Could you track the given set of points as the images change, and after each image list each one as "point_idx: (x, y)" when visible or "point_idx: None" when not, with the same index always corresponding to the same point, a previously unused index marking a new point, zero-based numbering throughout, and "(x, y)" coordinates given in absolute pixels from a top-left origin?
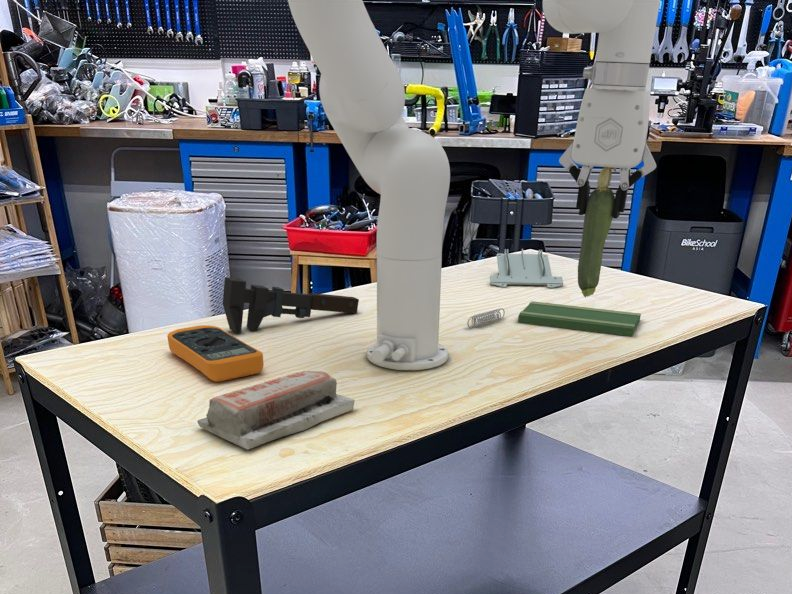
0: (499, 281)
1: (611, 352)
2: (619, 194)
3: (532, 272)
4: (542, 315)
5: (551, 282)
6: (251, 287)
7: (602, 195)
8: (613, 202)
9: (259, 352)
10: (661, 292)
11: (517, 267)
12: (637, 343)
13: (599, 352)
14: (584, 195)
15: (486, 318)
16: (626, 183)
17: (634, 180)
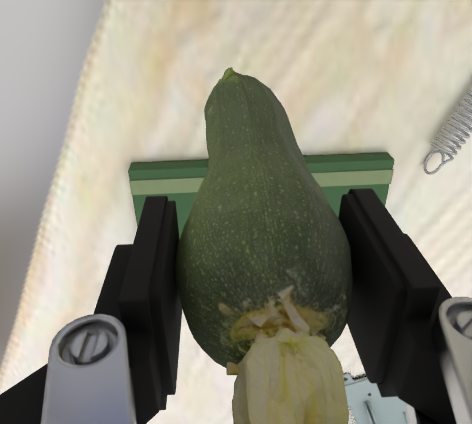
0: None
1: (139, 18)
2: (130, 280)
3: (387, 407)
4: (340, 172)
5: (347, 388)
6: None
7: (260, 259)
8: (180, 266)
9: None
10: (159, 420)
11: None
12: (105, 120)
13: (166, 3)
14: (391, 250)
15: (469, 99)
16: (73, 364)
17: (2, 409)
